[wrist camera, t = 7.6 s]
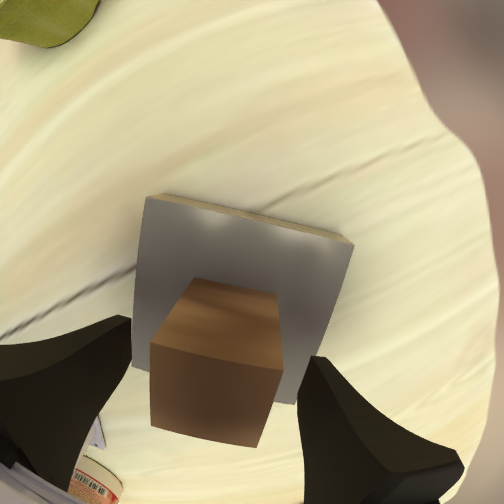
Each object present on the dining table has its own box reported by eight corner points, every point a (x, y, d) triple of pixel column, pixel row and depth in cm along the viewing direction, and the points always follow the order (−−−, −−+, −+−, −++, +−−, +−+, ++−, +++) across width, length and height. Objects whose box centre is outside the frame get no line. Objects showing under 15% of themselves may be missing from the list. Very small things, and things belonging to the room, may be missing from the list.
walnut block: (185, 346, 15) (150, 425, 9) (194, 277, 14) (150, 342, 8) (259, 361, 15) (256, 447, 9) (276, 293, 14) (284, 370, 8)
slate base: (148, 341, 18) (131, 366, 15) (166, 193, 16) (145, 196, 13) (291, 375, 18) (294, 404, 16) (339, 233, 16) (354, 245, 13)
